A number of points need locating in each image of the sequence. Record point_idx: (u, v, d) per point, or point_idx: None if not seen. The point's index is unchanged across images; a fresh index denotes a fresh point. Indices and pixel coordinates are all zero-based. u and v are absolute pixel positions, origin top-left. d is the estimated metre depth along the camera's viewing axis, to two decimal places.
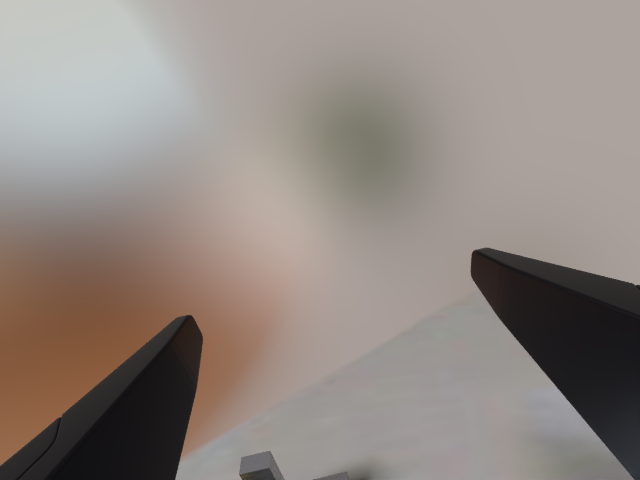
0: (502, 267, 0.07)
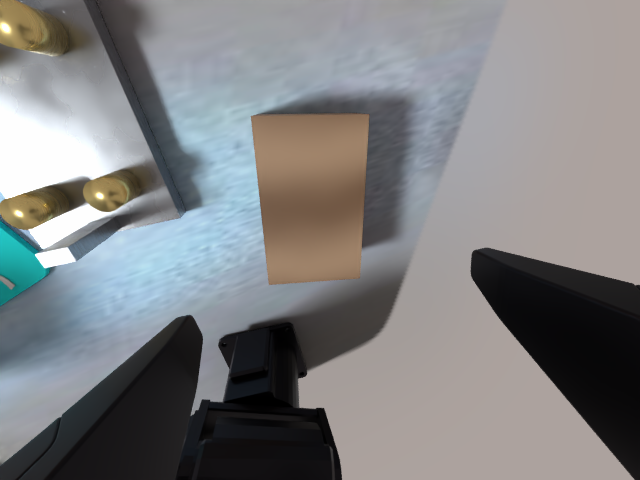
0: (502, 267, 0.07)
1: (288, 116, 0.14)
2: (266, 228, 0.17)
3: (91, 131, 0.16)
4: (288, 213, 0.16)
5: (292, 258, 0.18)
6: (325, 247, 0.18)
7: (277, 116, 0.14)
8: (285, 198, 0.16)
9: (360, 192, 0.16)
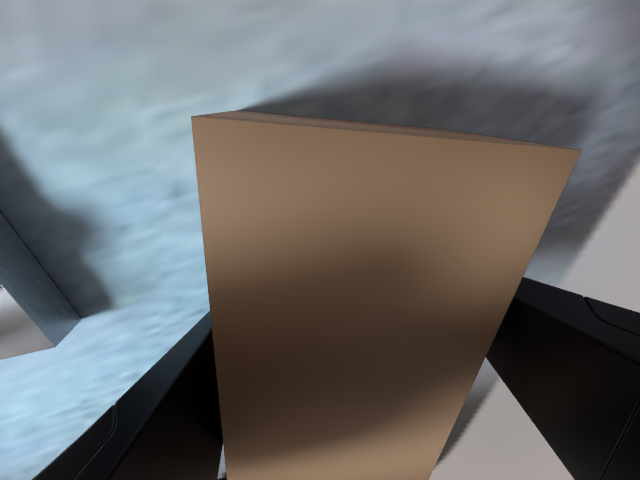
0: None
1: (328, 132, 0.04)
2: (229, 409, 0.06)
3: None
4: (291, 380, 0.06)
5: (289, 458, 0.07)
6: (370, 439, 0.07)
7: (288, 127, 0.04)
8: (287, 351, 0.06)
9: (482, 341, 0.06)
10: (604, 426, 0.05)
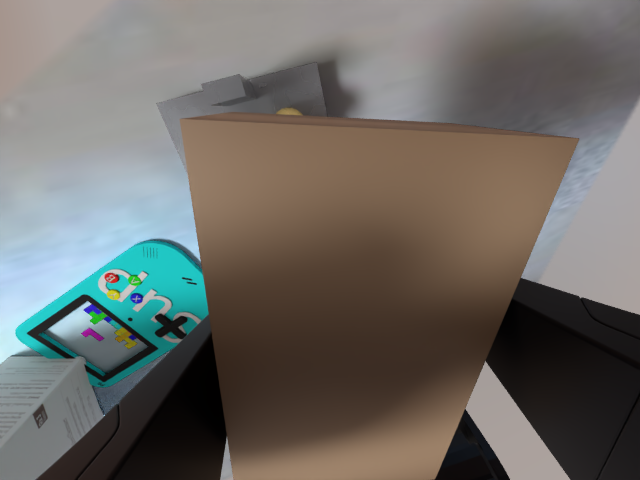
0: None
1: (317, 129, 0.04)
2: (232, 409, 0.06)
3: None
4: (292, 379, 0.06)
5: (294, 457, 0.07)
6: (374, 437, 0.07)
7: (278, 126, 0.04)
8: (287, 349, 0.06)
9: (484, 336, 0.06)
10: (600, 427, 0.05)
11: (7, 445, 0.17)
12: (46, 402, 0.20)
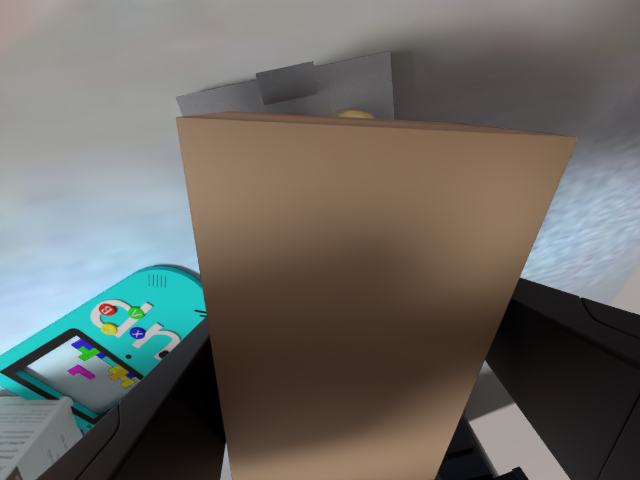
0: None
1: (314, 127, 0.04)
2: (230, 409, 0.06)
3: None
4: (291, 379, 0.06)
5: (293, 457, 0.07)
6: (373, 437, 0.07)
7: (275, 124, 0.04)
8: (285, 349, 0.06)
9: (483, 336, 0.06)
10: (600, 427, 0.05)
11: None
12: (21, 463, 0.16)
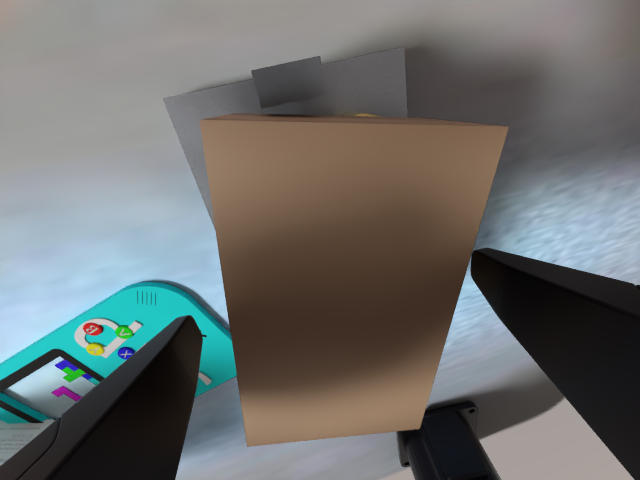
0: (502, 267, 0.07)
1: (303, 124, 0.05)
2: (242, 361, 0.08)
3: None
4: (291, 333, 0.07)
5: (296, 406, 0.09)
6: (364, 387, 0.09)
7: (273, 123, 0.05)
8: (286, 307, 0.07)
9: (450, 294, 0.07)
10: None
11: None
12: None
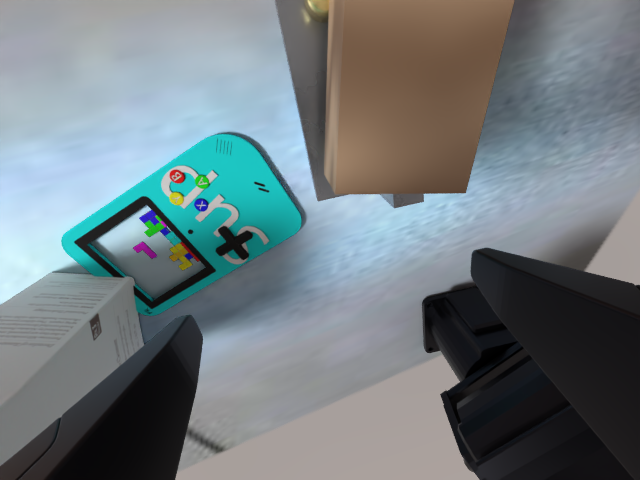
0: (502, 267, 0.07)
1: None
2: (345, 91, 0.10)
3: None
4: (383, 64, 0.10)
5: (376, 150, 0.12)
6: (428, 134, 0.11)
7: None
8: (383, 34, 0.10)
9: (498, 35, 0.10)
10: None
11: (67, 347, 0.15)
12: (101, 313, 0.17)
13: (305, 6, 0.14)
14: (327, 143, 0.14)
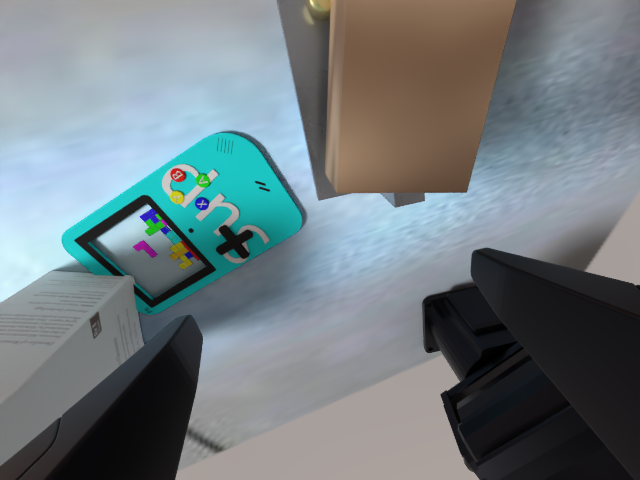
0: (502, 267, 0.07)
1: None
2: (347, 89, 0.10)
3: None
4: (385, 63, 0.10)
5: (378, 149, 0.12)
6: (429, 133, 0.11)
7: None
8: (385, 33, 0.10)
9: (500, 34, 0.10)
10: None
11: (67, 345, 0.15)
12: (101, 312, 0.17)
13: (307, 5, 0.14)
14: (328, 142, 0.14)
